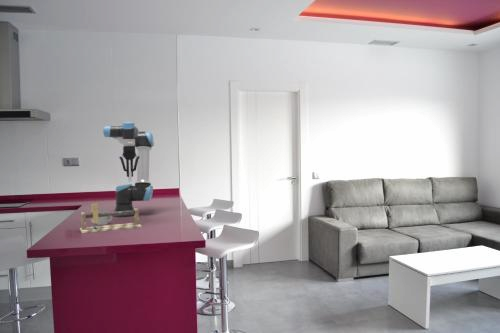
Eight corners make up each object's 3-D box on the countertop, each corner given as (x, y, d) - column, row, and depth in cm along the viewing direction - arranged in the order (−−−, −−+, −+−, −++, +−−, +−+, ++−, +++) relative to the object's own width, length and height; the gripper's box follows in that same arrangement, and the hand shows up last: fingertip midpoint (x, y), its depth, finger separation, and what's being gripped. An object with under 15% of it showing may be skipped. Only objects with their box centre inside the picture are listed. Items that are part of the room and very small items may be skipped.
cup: (96, 223, 254) (96, 210, 253) (112, 222, 257) (112, 209, 256) (95, 225, 247) (95, 211, 246) (112, 224, 250) (112, 211, 249)
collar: (93, 223, 227) (92, 204, 226) (91, 221, 234) (90, 203, 233) (98, 222, 228) (98, 204, 228) (96, 220, 235) (96, 202, 235)
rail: (82, 233, 222) (81, 214, 222) (80, 230, 233) (79, 211, 232) (141, 227, 239) (141, 209, 238) (136, 224, 249) (136, 207, 249)
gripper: (119, 145, 243) (120, 182, 245) (140, 145, 249) (141, 181, 251) (117, 145, 250) (118, 181, 251) (138, 145, 256) (139, 180, 257)
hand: (130, 181), depth 251 cm, fingers closed
